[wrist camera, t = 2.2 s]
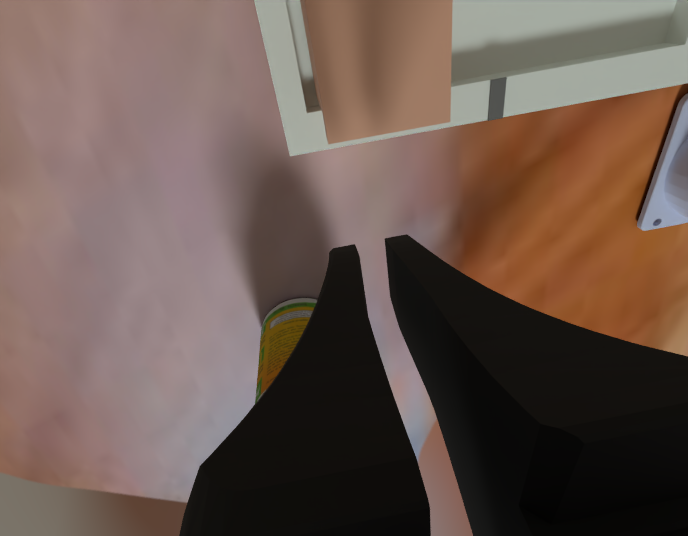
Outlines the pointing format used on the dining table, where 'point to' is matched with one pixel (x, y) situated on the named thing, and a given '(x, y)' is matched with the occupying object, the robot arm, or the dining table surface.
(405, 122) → the rider
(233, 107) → the dining table surface
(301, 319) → the supplement bottle
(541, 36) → the beam
